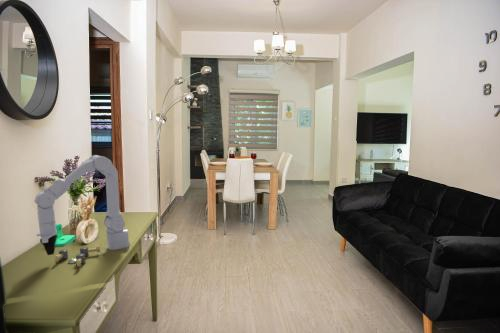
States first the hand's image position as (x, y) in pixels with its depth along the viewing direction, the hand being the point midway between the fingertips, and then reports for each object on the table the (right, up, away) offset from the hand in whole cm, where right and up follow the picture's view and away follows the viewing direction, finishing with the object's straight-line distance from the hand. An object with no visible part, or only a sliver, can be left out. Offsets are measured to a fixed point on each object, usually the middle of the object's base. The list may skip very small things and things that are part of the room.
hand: (50, 254), depth 138 cm
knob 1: (+3, -4, +3) cm, 5 cm away
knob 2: (+13, -4, -3) cm, 14 cm away
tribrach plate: (+9, -5, +2) cm, 10 cm away
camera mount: (-10, -2, +26) cm, 28 cm away
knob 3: (+12, -3, +8) cm, 15 cm away
